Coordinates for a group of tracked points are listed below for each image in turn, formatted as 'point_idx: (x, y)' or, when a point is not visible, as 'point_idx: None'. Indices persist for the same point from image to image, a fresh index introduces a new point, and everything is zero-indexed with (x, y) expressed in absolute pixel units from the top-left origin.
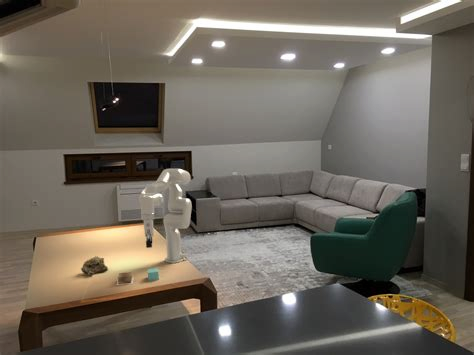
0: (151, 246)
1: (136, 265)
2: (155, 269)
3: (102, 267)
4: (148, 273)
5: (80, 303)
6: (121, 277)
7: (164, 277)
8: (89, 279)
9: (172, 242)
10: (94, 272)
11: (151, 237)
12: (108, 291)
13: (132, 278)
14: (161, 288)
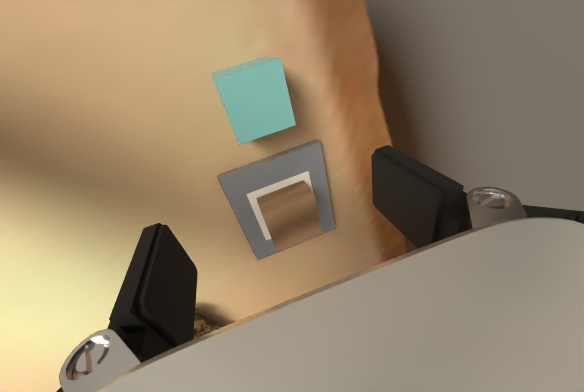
0: (391, 153)
1: (46, 259)
2: (240, 92)
3: (198, 331)
4: (293, 120)
5: (402, 243)
6: (319, 222)
7: (201, 33)
8: (249, 311)
9: None
10: (217, 328)
11: (146, 301)
12: (345, 220)
13: (256, 195)
14: (356, 16)
